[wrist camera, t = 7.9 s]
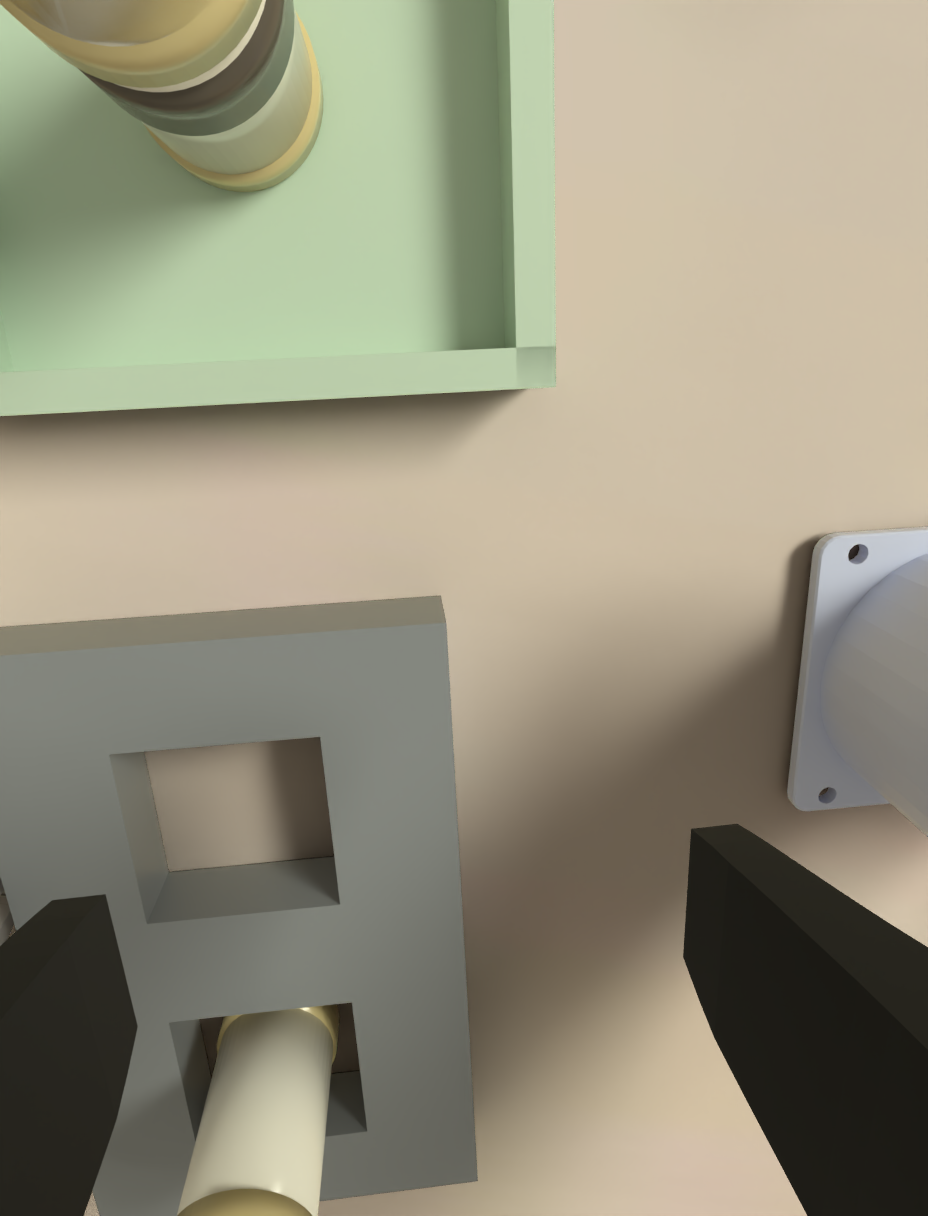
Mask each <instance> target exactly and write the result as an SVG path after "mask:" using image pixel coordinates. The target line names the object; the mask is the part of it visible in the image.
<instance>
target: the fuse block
mask: <svg viewBox="0 0 928 1216" xmlns="http://www.w3.org/2000/svg"><path fill="white" fill-rule="evenodd" d="M312 737H320V741H321V749H322V758H323V766H324V774H325V783H326V791H327V799H328V808H329V816H330V824H331V833H332V841H333V849H334V857H323V858H313V859H302V860H292V861H282V862H271V863H261V864H250V865H240V866H229V867H219V868H208V869H198V870H187V871H177V872H169V871H168V866H167V861H166V856H165V851H164V847H163V842H162V837H161V832H160V827H159V822H158V817H157V813H156V808H155V803H154V798H153V793H152V788H151V783H150V779H149V774H148V769H147V764H146V759H145V754H144V752H145V751H157V750H169V749H181V748H193V747H205V746H217V745H229V744H241V743H253V742H265V741H276V740H288V739H300V738H312ZM0 877H1V881H2V884H3V887H4V891H5V894H6V898H7V901H8V904H9V908H10V911H11V915H12V918H13V922H14V925H15V928H16V931H17V930H18V929H19V928H21V927H22V926H23V925H24V924H25V923H26V922H27V921H28V920H29V919H31V918H32V917H33V916H34V915H35V914H36V913H38V912H39V911H40V910H41V909H42V908H43V907H45V906H46V905H47V904H48V903H49V902H51V901H52V900H58V899H67V898H76V897H85V896H94V895H103V894H106V898H107V902H108V906H109V910H110V914H111V919H112V923H113V927H114V931H115V935H116V939H117V943H118V947H119V951H120V956H121V960H122V964H123V968H124V972H125V976H126V980H127V984H128V988H129V993H130V997H131V1001H132V1005H133V1009H134V1013H135V1017H136V1021H137V1025H138V1028H137V1033H136V1037H135V1042H134V1047H133V1051H132V1056H131V1060H130V1065H129V1070H128V1074H127V1079H126V1083H125V1087H124V1091H123V1095H122V1099H121V1103H120V1108H119V1112H118V1116H117V1120H116V1123H115V1126H114V1129H113V1132H112V1135H111V1138H110V1141H109V1144H108V1147H107V1150H106V1152H105V1155H104V1158H103V1161H102V1164H101V1167H100V1170H99V1173H98V1176H97V1178H96V1181H95V1184H94V1187H93V1190H92V1191H93V1194H94V1198H95V1201H96V1205H97V1208H98V1211H99V1215H100V1216H177V1213H178V1209H179V1205H180V1201H181V1197H182V1193H183V1189H184V1185H185V1181H186V1177H187V1173H188V1169H189V1165H190V1162H191V1158H192V1154H193V1150H194V1146H195V1142H196V1138H197V1134H198V1130H199V1126H200V1122H201V1118H202V1114H203V1110H204V1107H205V1103H206V1099H207V1095H208V1091H209V1087H210V1083H211V1075H210V1070H209V1065H208V1060H207V1055H206V1050H205V1046H204V1041H203V1036H202V1031H201V1026H200V1021H199V1019H205V1018H214V1017H223V1016H233V1015H242V1014H251V1013H260V1012H269V1011H278V1010H287V1009H297V1008H306V1007H315V1006H324V1005H333V1004H342V1003H352V1007H353V1016H354V1024H355V1032H356V1041H357V1049H358V1057H359V1066H360V1071H354V1072H345V1073H336V1074H331V1079H330V1089H329V1100H328V1111H327V1122H326V1133H325V1144H324V1154H323V1165H322V1176H321V1187H320V1198H319V1201H326V1200H333V1199H341V1198H349V1197H357V1196H365V1195H373V1194H380V1193H388V1192H396V1191H404V1190H412V1189H420V1188H427V1187H435V1186H443V1185H451V1184H459V1183H467V1182H474V1181H478V1177H477V1160H476V1142H475V1124H474V1106H473V1089H472V1071H471V1053H470V1036H469V1018H468V1000H467V982H466V965H465V947H464V929H463V911H462V894H461V876H460V858H459V840H458V823H457V805H456V787H455V769H454V752H453V734H452V716H451V699H450V681H449V663H448V645H447V628H446V619H445V614H444V609H443V605H442V600H441V596H430V597H416V598H402V599H388V600H374V601H360V602H346V603H332V604H318V605H304V606H290V607H276V608H262V609H248V610H234V611H220V612H206V613H192V614H178V615H164V616H150V617H136V618H122V619H108V620H94V621H80V622H66V623H52V624H38V625H24V626H10V627H0Z"/></svg>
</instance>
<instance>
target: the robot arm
mask: <svg viewBox="0 0 928 1216" xmlns="http://www.w3.org/2000/svg"><path fill="white" fill-rule="evenodd" d="M857 544H859V552H858V554H857V556H856V557H855V558H853V559H851V560H849V558H848V554H849V551H850V549H851V548H852V547H853V546H854V545H857ZM828 787H829V788H828ZM825 788H828V791H827V792H826V793H825V794H823V795H820V796H819V794H820V792H821V791H822V790H823V789H825ZM787 795H788V799H789V800H790V802H791V803H792V804H793V805H794V806H795V807H796V808H797V809H799V810H801V811H817V810H828V809H838V808H849V807H859V806H870V805H880V804H892V805H893V806H894V807H895V808H896V809H897V810H898V811H899V812H901V813H902V814H903V815H904V816H905V817H906V818H907V819H908V820H909V821H910V822H912V823H913V824H914V825H915V826H916V827H917V828H918V829H919V830H920V831H922V832H923V833H924V834H925V835H926V836H927V837H928V527H913V528H899V529H884V530H869V531H855V532H840V533H832V534H828V535H825V536H824V537H823V538H821V539H820V540H819V541H818V542H817V544H816V545H815V547H814V551H813V555H812V564H811V574H810V583H809V592H808V602H807V611H806V620H805V630H804V639H803V648H802V658H801V667H800V676H799V686H798V695H797V704H796V714H795V723H794V732H793V742H792V751H791V761H790V770H789V779H788V789H787ZM683 958H684V960H685V963H686V966H687V968H688V971H689V974H690V976H691V979H692V982H693V984H694V987H695V990H696V993H697V995H698V998H699V1001H700V1003H701V1006H702V1008H703V1011H704V1013H705V1016H706V1018H707V1021H708V1023H709V1026H710V1028H711V1030H712V1033H713V1035H714V1038H715V1040H716V1042H717V1044H718V1046H719V1048H720V1050H721V1052H722V1054H723V1056H724V1058H725V1059H726V1061H727V1063H728V1065H729V1067H730V1069H731V1071H732V1073H733V1075H734V1077H735V1079H736V1081H737V1083H738V1085H739V1086H740V1088H741V1090H742V1092H743V1094H744V1096H745V1098H746V1100H747V1102H748V1104H749V1106H750V1108H751V1109H752V1111H753V1113H754V1115H755V1117H756V1119H757V1121H758V1123H759V1125H760V1127H761V1128H762V1130H763V1132H764V1134H765V1136H766V1138H767V1140H768V1142H769V1144H770V1145H771V1147H772V1149H773V1151H774V1153H775V1155H776V1157H777V1159H778V1161H779V1163H780V1164H781V1166H782V1168H783V1170H784V1172H785V1174H786V1176H787V1178H788V1180H789V1182H790V1183H791V1185H792V1187H793V1189H794V1191H795V1193H796V1195H797V1197H798V1199H799V1200H800V1202H801V1204H802V1206H803V1208H804V1210H805V1212H806V1214H807V1216H928V947H926V946H925V945H923V944H922V943H920V942H918V941H917V940H915V939H913V938H912V937H910V936H909V935H907V934H905V933H904V932H902V931H901V930H899V929H897V928H896V927H894V926H893V925H891V924H890V923H888V922H886V921H885V920H883V919H882V918H880V917H879V916H877V915H876V914H874V913H872V912H871V911H869V910H868V909H866V908H865V907H863V906H862V905H860V904H859V903H857V902H855V901H854V900H852V899H851V898H849V897H848V896H846V895H845V894H843V893H842V892H840V891H839V890H837V889H836V888H834V887H833V886H831V885H830V884H828V883H827V882H825V881H824V880H822V879H821V878H819V877H818V876H816V875H815V874H813V873H812V872H810V871H809V870H807V869H806V868H804V867H803V866H801V865H800V864H798V863H797V862H796V861H794V860H793V859H791V858H790V857H788V856H787V855H785V854H784V853H782V852H781V851H779V850H778V849H776V848H775V847H773V846H772V845H770V844H769V843H767V842H765V841H764V840H762V839H761V838H759V837H758V836H756V835H755V834H753V833H752V832H750V831H748V830H747V829H745V828H743V827H742V826H740V825H738V824H732V825H723V826H714V827H705V828H696V829H691V842H690V858H689V874H688V890H687V906H686V922H685V938H684V954H683ZM137 1028H138V1025H137V1021H136V1017H135V1013H134V1009H133V1005H132V1001H131V997H130V993H129V988H128V984H127V980H126V976H125V972H124V968H123V964H122V960H121V956H120V951H119V947H118V943H117V939H116V935H115V931H114V927H113V923H112V919H111V914H110V910H109V906H108V902H107V898H106V894H103V895H94V896H85V897H76V898H67V899H58V900H52V901H51V902H49V903H48V904H47V905H46V906H45V907H43V908H42V909H41V910H40V911H39V912H38V913H36V914H35V915H34V916H33V917H32V918H31V919H29V920H28V921H27V922H26V923H25V924H24V925H23V926H22V927H21V928H19V929H18V930H17V931H16V932H15V933H14V934H13V935H12V936H11V937H9V938H8V939H7V940H6V941H5V942H4V943H3V944H2V945H1V946H0V1216H84V1213H85V1210H86V1207H87V1204H88V1202H89V1199H90V1196H91V1193H92V1190H93V1187H94V1184H95V1181H96V1178H97V1176H98V1173H99V1170H100V1167H101V1164H102V1161H103V1158H104V1155H105V1152H106V1150H107V1147H108V1144H109V1141H110V1138H111V1135H112V1132H113V1129H114V1126H115V1123H116V1120H117V1116H118V1112H119V1108H120V1103H121V1099H122V1095H123V1091H124V1087H125V1083H126V1079H127V1074H128V1070H129V1065H130V1060H131V1056H132V1051H133V1047H134V1042H135V1037H136V1033H137Z"/></svg>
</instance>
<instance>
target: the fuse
mask: <svg viewBox="0 0 928 1216" xmlns="http://www.w3.org/2000/svg"><path fill="white" fill-rule="evenodd" d="M338 1029H339V1011H338V1007H337V1004H333V1005H324V1006H315V1007H306V1008H297V1009H287V1010H278V1011H269V1012H260V1013H251V1014H242V1015H233V1016H224V1018H223V1022H222V1026H221V1029H220V1033H219V1037H218V1041H217V1059H216V1063H215V1067H214V1071H213V1075H212V1079H211V1083H210V1087H209V1091H208V1095H207V1099H206V1103H205V1107H204V1110H203V1114H202V1118H201V1122H200V1126H199V1130H198V1134H197V1138H196V1142H195V1146H194V1150H193V1154H192V1158H191V1162H190V1165H189V1169H188V1173H187V1177H186V1181H185V1185H184V1189H183V1193H182V1197H181V1201H180V1205H179V1209H178V1213H177V1216H318V1208H319V1198H320V1187H321V1176H322V1165H323V1154H324V1144H325V1133H326V1122H327V1111H328V1100H329V1089H330V1079H331V1068H332V1063H333V1061H334V1059H335V1056H336V1051H337V1040H338Z"/></svg>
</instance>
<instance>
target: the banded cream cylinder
mask: <svg viewBox="0 0 928 1216" xmlns="http://www.w3.org/2000/svg"><path fill="white" fill-rule="evenodd" d="M0 4H1V5H2V6H3V7H4V8H5V9H6V10H7V11H8V12H9V13H10V14H11V15H12V16H14V17H15V18H16V19H17V20H18V21H19V22H20V23H21V24H23V25H24V26H25V27H26V28H27V29H28V30H29V31H30V32H32V33H33V34H34V35H35V36H36V37H37V38H38V39H39V40H41V41H42V42H43V43H44V44H45V45H46V46H47V47H48V48H50V49H51V50H52V51H53V52H55V53H56V54H57V55H59V56H60V57H61V58H63V59H64V60H65V61H67V62H68V63H70V64H71V65H73V66H75V67H77V68H78V69H79V70H80V71H81V72H82V73H83V74H84V75H85V76H87V77H88V78H89V79H90V80H91V81H92V82H93V83H94V84H95V85H97V86H98V87H99V88H100V89H101V90H102V91H103V92H104V93H105V94H106V95H108V96H109V97H110V98H111V99H112V100H113V101H114V102H115V103H116V104H117V105H119V106H120V107H121V108H122V109H124V110H125V111H126V112H128V113H129V114H130V115H132V116H133V117H135V118H136V119H138V120H140V121H141V122H142V123H143V124H144V125H145V127H146V128H147V130H148V131H149V133H150V134H151V136H152V137H153V138H154V140H155V141H156V142H157V143H158V144H159V146H160V147H161V148H162V149H163V150H164V151H165V152H167V153H168V154H169V155H170V156H171V157H172V158H173V159H174V160H175V161H176V162H177V163H179V164H180V165H181V166H182V167H183V168H184V169H185V170H187V171H188V172H189V173H191V174H192V175H193V176H195V177H196V178H198V179H200V180H201V181H203V182H205V183H207V184H209V185H212V186H214V187H217V188H220V189H224V190H228V191H235V192H254V191H259V190H264V189H267V188H270V187H273V186H275V185H277V184H279V183H281V182H283V181H284V180H285V179H287V178H288V177H290V176H291V175H292V174H293V173H294V172H295V171H296V170H298V169H299V168H300V167H301V165H302V164H303V163H304V161H305V160H306V159H307V157H308V156H309V154H310V152H311V151H312V149H313V147H314V145H315V142H316V140H317V137H318V134H319V131H320V127H321V123H322V116H323V101H324V98H323V86H322V81H321V75H320V71H319V68H318V64H317V61H316V57H315V54H314V51H313V48H312V44H311V41H310V38H309V36H308V33H307V31H306V29H305V27H304V24H303V23H302V21H301V19H300V18H299V16H298V14H297V12H296V11H295V8H294V4H293V0H0Z"/></svg>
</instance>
